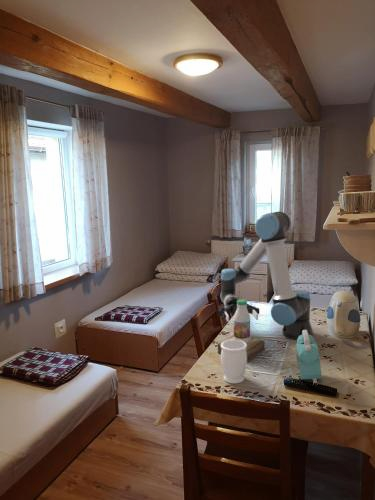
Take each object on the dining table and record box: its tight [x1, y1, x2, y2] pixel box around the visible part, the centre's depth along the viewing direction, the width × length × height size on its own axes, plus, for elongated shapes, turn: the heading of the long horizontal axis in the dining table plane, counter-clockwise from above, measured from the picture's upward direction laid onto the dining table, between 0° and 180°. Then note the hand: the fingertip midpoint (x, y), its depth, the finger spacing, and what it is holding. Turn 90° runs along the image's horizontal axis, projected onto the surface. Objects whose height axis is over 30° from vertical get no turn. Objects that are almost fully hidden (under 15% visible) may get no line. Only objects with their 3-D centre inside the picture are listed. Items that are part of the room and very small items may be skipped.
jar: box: [220, 339, 248, 384], centre depth 159 cm, size 11×10×15 cm
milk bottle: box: [233, 298, 251, 344], centre depth 183 cm, size 8×8×20 cm
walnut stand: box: [217, 334, 266, 363], centre depth 185 cm, size 16×16×5 cm
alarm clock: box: [296, 330, 323, 384], centre depth 157 cm, size 17×10×20 cm, turn 168°
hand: (242, 318), depth 180 cm, fingers open, 13 cm apart
